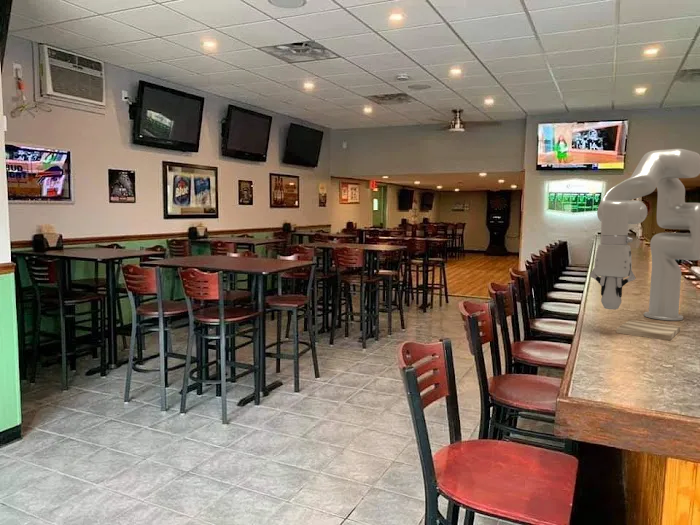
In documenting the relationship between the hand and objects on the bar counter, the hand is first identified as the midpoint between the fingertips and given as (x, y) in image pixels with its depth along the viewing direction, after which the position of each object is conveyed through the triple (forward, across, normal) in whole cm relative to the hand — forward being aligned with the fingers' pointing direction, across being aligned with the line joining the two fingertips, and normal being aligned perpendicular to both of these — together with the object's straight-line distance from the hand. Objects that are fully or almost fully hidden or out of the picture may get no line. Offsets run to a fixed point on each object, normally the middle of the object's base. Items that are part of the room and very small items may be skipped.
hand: (611, 298), depth 167 cm
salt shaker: (+4, 0, 0) cm, 4 cm away
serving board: (+12, -9, -12) cm, 19 cm away
